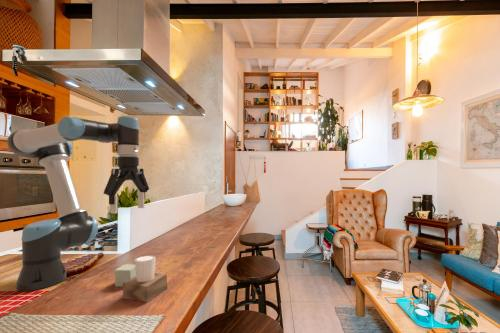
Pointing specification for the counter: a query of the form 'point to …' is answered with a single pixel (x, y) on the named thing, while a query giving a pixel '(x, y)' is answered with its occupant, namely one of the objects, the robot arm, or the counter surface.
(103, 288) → the counter surface
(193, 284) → the counter surface
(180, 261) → the counter surface
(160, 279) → the walnut block
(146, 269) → the shot glass
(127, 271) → the sage block
